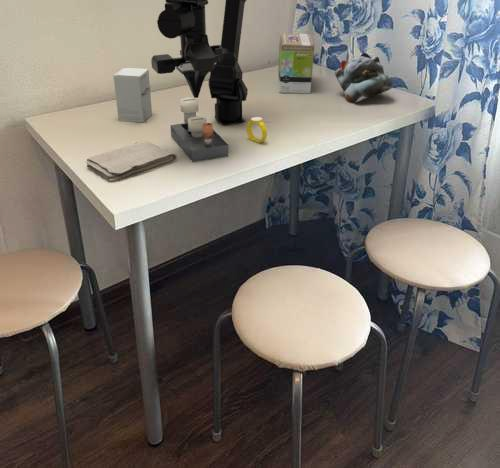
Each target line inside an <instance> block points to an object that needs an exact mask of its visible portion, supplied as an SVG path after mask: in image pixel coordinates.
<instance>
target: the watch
mask: <svg viewBox="0 0 500 468" xmlns="http://www.w3.org/2000/svg"><path fill="white" fill-rule="evenodd" d="M253 124H258V125H259V126H260V129H261V133H262V136H261V139H259V138H256V137H255V136H254V135H255V134H254V133H253V130H252V127H253V126H252V125H253ZM246 132H247V136H248V138H249V140H250V141H253V142H255V143H258V144H261V143H263V142H265V141H266V139H267V136H268V130H267V127H266V123H264V121H263V118H262V117H260V116H254V117H251V118H250V120H249V121H248V122H247V125H246Z"/></svg>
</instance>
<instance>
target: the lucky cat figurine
mask: <svg viewBox="0 0 500 468" xmlns="http://www.w3.org/2000/svg"><path fill="white" fill-rule="evenodd" d="M334 75H335V77H336V80H337V82H338V84H339V85H340V87H341V89H342V91H343V93H344V98H345V100H346V101H347V102H348V103H352V104H357V103H358V102H362V101H364V100H367V99H369V98H371V97H374V96H378V95H380V94H382V93H385V92H387V91H390V90H392V88H393V84H392V83H393V82H392V80H391V78H390V76H388V75H387V74H385V71H384V68H383V66H382V64H381V63H380V57H379V56H377V55H375V56H373V57H372V58H371V57H370V55H369V54H368V53H366V52H363V53H362V54H361V55H360V56H355V57H353V58H352V59H350V60H349V61H347V60H341V62H340V64H339V67H338V68H337V69H336V70H335V71H334Z"/></svg>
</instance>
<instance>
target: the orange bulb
mask: <svg viewBox="0 0 500 468" xmlns="http://www.w3.org/2000/svg"><path fill="white" fill-rule="evenodd" d="M213 125H214V124H213V123H210V122H206V123H204V124H202V133H203V138H204V140H205V146H211V145H212V144H211V138H213V130H214V126H213Z"/></svg>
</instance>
